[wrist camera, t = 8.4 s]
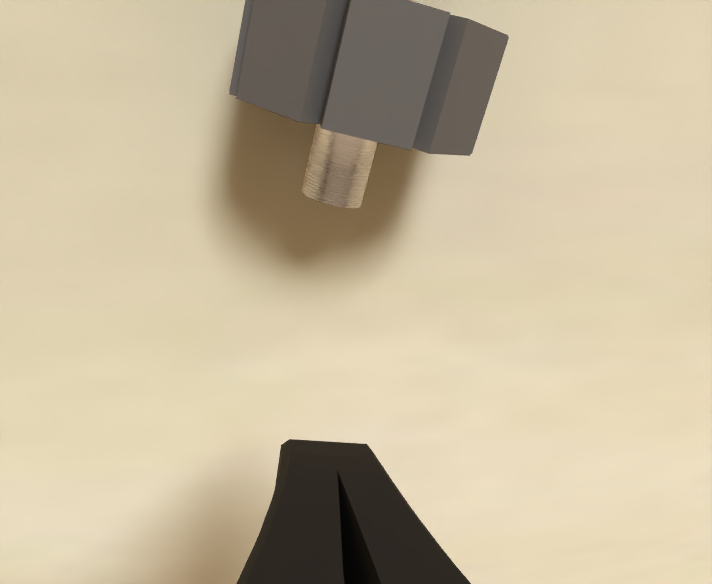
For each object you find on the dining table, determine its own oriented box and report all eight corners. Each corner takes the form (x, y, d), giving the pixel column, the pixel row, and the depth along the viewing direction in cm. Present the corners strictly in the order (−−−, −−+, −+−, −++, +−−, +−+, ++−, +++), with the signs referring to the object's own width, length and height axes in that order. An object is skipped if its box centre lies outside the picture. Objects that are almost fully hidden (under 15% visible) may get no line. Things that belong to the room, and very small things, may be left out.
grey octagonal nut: (237, 79, 16) (223, 105, 11) (256, -26, 15) (249, -47, 10) (434, 128, 17) (498, 171, 12) (462, 33, 16) (542, 39, 11)
